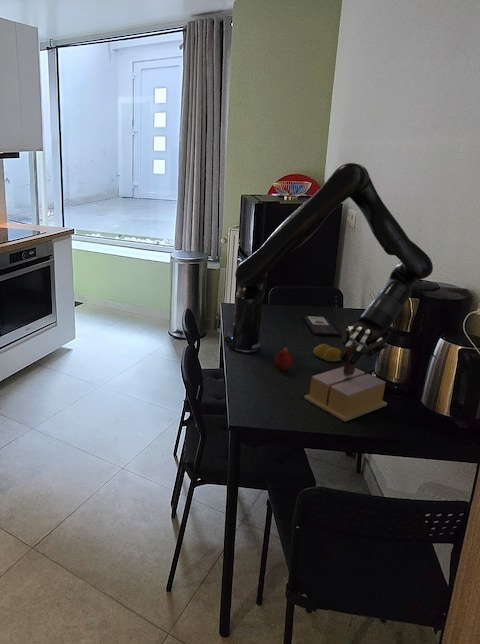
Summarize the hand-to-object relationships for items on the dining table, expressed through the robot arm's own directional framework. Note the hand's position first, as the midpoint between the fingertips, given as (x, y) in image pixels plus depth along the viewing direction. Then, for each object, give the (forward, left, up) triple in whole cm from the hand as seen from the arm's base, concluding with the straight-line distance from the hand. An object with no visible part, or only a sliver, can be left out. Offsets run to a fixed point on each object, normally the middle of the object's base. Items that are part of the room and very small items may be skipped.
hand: (345, 361), depth 134 cm
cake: (+2, +2, -13) cm, 13 cm away
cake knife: (+2, +1, -12) cm, 13 cm away
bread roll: (+2, +33, -14) cm, 35 cm away
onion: (-14, +18, -14) cm, 26 cm away
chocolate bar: (+4, +62, -13) cm, 63 cm away
